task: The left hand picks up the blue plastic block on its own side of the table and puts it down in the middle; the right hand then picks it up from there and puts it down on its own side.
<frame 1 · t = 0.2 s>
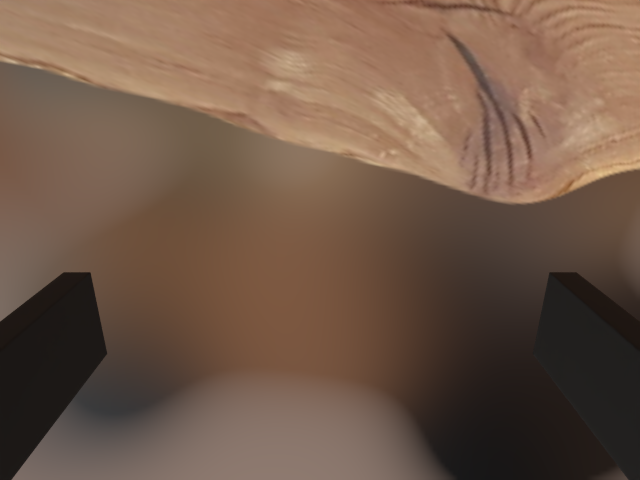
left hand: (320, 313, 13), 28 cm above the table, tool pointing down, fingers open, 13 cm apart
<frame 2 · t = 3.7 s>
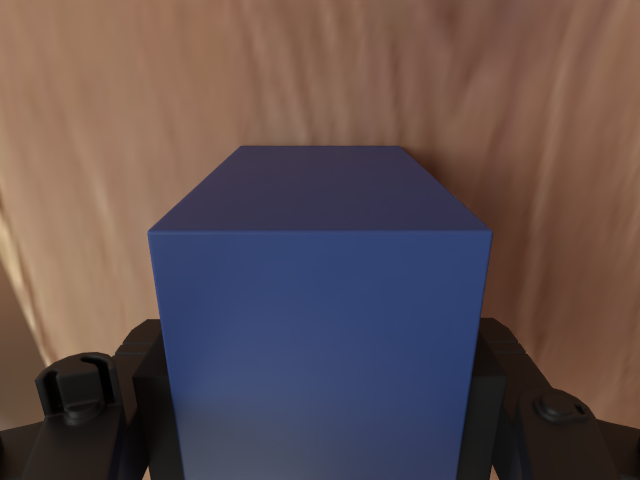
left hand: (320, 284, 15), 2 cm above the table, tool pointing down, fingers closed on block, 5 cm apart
block: (320, 261, 16), on the table, touching left hand
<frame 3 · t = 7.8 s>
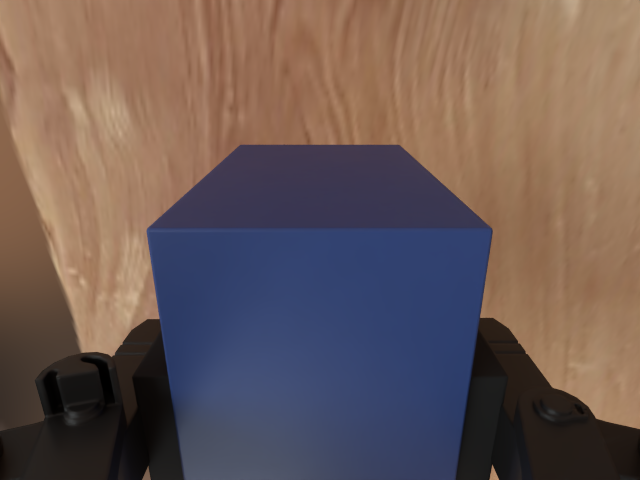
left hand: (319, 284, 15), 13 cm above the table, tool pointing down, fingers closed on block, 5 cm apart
block: (319, 260, 16), point 11 cm above the table, touching left hand
when the left hand's fingers open (4 cm above the table, at t = 12.2 s): block drops 2 cm, on the table.
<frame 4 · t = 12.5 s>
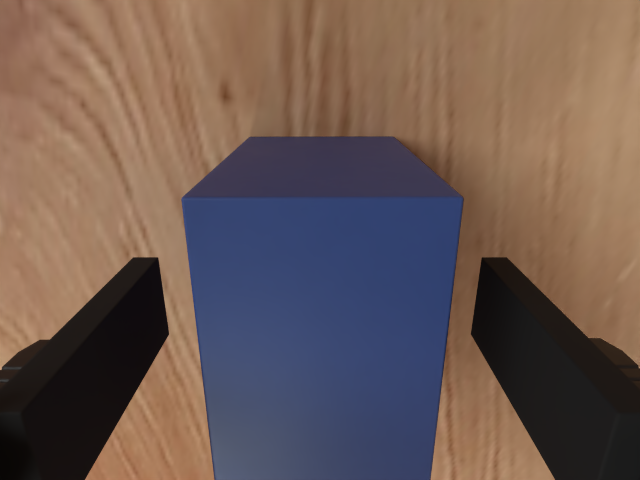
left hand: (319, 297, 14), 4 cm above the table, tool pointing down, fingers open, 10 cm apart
block: (321, 242, 18), on the table
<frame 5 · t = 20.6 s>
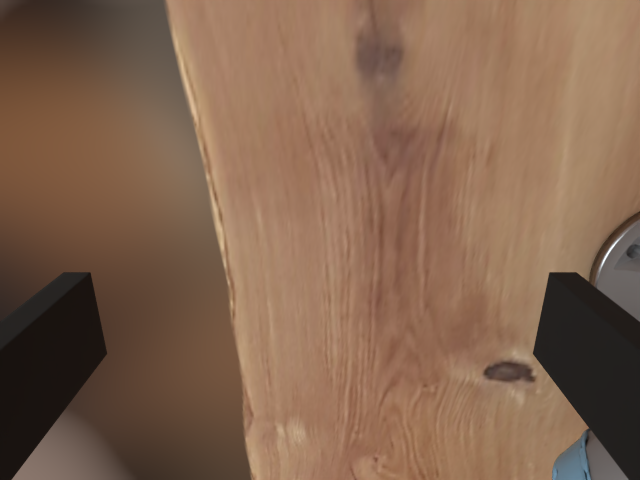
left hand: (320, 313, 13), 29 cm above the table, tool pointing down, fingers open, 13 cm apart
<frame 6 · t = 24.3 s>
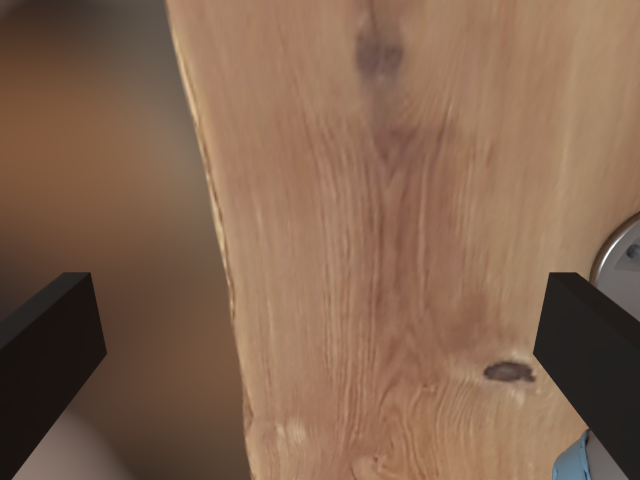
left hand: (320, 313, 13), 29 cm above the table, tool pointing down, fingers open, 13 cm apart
when the right hand's fingers open (6 cm above the table, at t = 28.1 s): block drops 2 cm, on the table.
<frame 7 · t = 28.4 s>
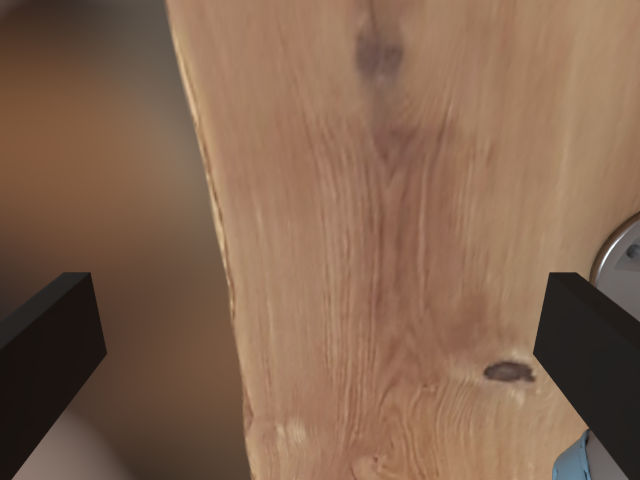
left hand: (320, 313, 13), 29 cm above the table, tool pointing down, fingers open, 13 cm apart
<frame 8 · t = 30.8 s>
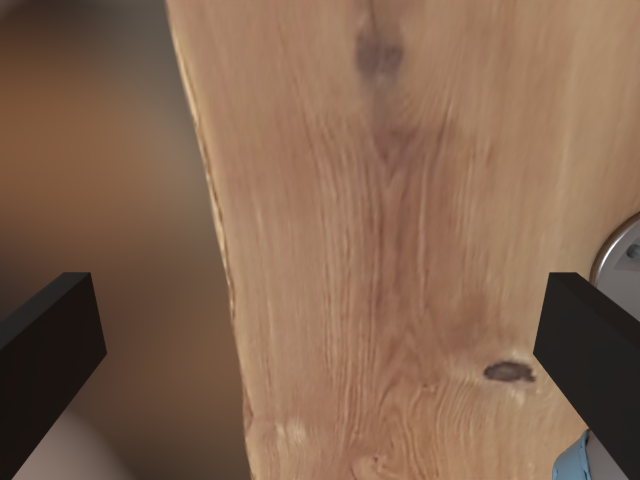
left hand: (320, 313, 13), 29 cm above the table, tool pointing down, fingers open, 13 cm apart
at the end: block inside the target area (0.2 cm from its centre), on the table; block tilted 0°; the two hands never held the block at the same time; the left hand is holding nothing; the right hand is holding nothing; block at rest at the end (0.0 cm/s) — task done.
